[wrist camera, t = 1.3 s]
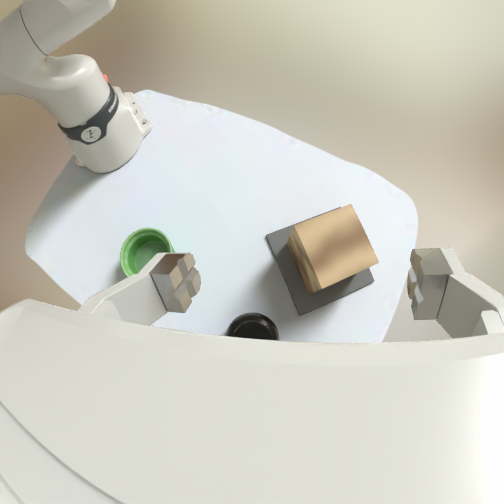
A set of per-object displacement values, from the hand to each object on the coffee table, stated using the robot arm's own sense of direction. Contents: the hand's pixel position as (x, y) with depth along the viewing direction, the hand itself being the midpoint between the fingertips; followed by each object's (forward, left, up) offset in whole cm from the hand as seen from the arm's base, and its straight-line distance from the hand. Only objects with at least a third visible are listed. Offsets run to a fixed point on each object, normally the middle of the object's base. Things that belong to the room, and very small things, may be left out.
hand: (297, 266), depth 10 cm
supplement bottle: (+3, -3, -35) cm, 35 cm away
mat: (-4, +12, -35) cm, 37 cm away
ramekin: (-14, -14, -35) cm, 40 cm away
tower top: (-4, +12, -30) cm, 32 cm away
